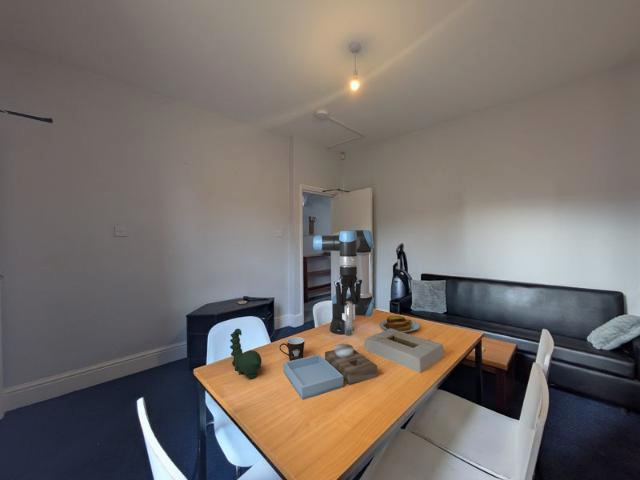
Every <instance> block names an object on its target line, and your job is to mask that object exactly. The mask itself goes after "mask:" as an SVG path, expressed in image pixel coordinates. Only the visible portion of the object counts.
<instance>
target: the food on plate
mask: <svg viewBox="0 0 640 480" xmlns="http://www.w3.org/2000/svg"><path fill="white" fill-rule="evenodd" d="M380 327H381V328H382V329H383V330H385V331H386V330H388V329H390V328H392V329H395V330H398V331H400V332H403V333H406V334H407V333H409V332H413V331H416V330H417V331H418V330H419V328H421V325H420V323H419V322H417V321H416V320H415V321H414V320H411V319H407V318H405V316H400V315H390V316H388V317H387V318H386V320H383V321H382V322H380Z"/></svg>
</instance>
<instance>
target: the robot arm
mask: <svg viewBox="0 0 640 480" xmlns="http://www.w3.org/2000/svg"><path fill="white" fill-rule="evenodd" d="M374 243H375V242H374V236H373V232H372V231H371V230H367V229H357V230H356V229H355V230H353V229H351V230H349V229H347V230H340V231H338V232H334V233H333V234H327V235H323V234H321V235H315V236H314V237H313V240H312V247H313V250H314V251H318V252H329V251H330V252H332V251H333V252H339V265H340V266H339V275H340V277H339V280H337V281H336V280H335V281H334V282H333V284H334V286H335V295H333V296H332V300H331V301H332V302H331V306H332V307H331V308H332V311H331V312H332V317H331V318H332V319H331V322H330V325H329V331H330V332H331V333H332V334H335V335H345V321H347V306H346V305H345V304H346V302H347V301H350V302H353V320H356V316H358V317H359V316H360V317H371V316H372V315H373V313H374V306H375V297H374V296H373V295H372V293H371V292H370V254H371V253H372V250H374V249H375V245H374ZM348 290H349V293H348Z"/></svg>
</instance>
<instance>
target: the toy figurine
mask: <svg viewBox="0 0 640 480" xmlns="http://www.w3.org/2000/svg"><path fill="white" fill-rule="evenodd" d="M240 336H242V329H241V328H236V329H235V330H234V331H233V332H232V333H231V334H230V337H231V339H230V340H229V342H230V343H231V345H230V346H229V347H230V349H231V350H232V351H231V353H230V356H231V357H233V360H232V361H231V364H232V366H234V371H237V373H238V374H239V375H241V374H243V373H244V374H245V375H246V377H247V378H248V379H249V380H250V379H251V380H252V379H254V378H256V377H257V375H258V371H259V370H260V369H261V368H262V356H261V354H260V353H259V352H258V351H256V350H247V351H245V352H244V353H243V349H242V344H241V339H240Z"/></svg>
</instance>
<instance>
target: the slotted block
mask: <svg viewBox="0 0 640 480" xmlns="http://www.w3.org/2000/svg"><path fill="white" fill-rule="evenodd" d="M364 350H365V351H367V352H370V353H371V354H374V355H376V356H378V357H381V358H383V359H386V360H388V361H390V362H393V363H396V364H397V365H400V366H403V367H405V368H408V369H409V370H412V371H415V372H417V373H419V374H421V373H422V372H424V371H425V370H426V369H428V368H429V367H431V366H432V365H434V364H436V363H437V362H438V361H439V360H441V359H443V358H444V345H443V344H442V343H441V342H437V341H433V340H431V339H425V338H421V337H418V336H414V335H412V334H409V333H407V332H406V333H403V332H400V331H398V330H395V329H392V328H390V329H388V330H386V329H385V330H384V331H382V332H381V331H380V332H378V333H376V334H374V335H372V336H368V337H366V338H364Z"/></svg>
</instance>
